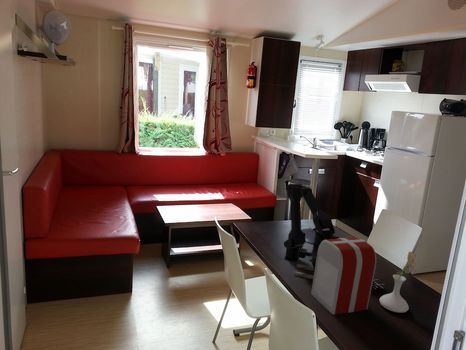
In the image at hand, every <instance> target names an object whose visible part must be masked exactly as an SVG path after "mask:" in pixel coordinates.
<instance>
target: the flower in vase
mask: <svg viewBox="0 0 466 350" xmlns="http://www.w3.org/2000/svg"><path fill="white" fill-rule="evenodd" d="M406 259H407V262H406V264H405V265H404V266H403V268H402V270H401V271H400V270H399V271H397V272H396V273H397V274H393V275H392V277H393V280H394V285H393V286H394V287H393V291H392V292H390V293H386V294H383V295H382V296H380V298H379V303H380V305H381V306H382V307H384V308H385V309H387V310H389V311H391V312H394V313H399V314H401V313H402V314H403V313H406V312H407V311H409V309H410V308H409V307H410V306H409V305H408V303H407V301H406V299H404V298H403V296H401V294H400V291H401V287H402V284H403V283H404V282H406V280H407V278H406V277H405V276H403V275H404V273H405V274H408V273H409V272H410V271H414V272H416V271H417V270H418V262H419V261H417V257H416V255H414V252H413V251H409V252H408V253H407V258H406ZM407 265H408V266H409V268H410V269H409V268H408V267H407ZM403 272H404V273H403Z"/></svg>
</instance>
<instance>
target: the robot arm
mask: <svg viewBox="0 0 466 350" xmlns="http://www.w3.org/2000/svg"><path fill="white" fill-rule="evenodd" d="M286 193H287V194H286V195H287V197H288V199H289V201H290V222H291V223H290V225H291V229H290V230H289V233H288V235H287V239H286V240H285V241H284V242H283V247H284V248H285V256H284V260H288V261H291V262H296V263H297V262H298V260H299V259H305V258H306V257H308V258H309V259H308V260H309V262H310V263H311V264H312V267H313V269H314V271H313V273H314V272H315V266H316V259H317V253H318V248H319V245H320V244H321V242H322V241H323V240H330V239H338V238H340V237H339V236H337V235H335V234H336V231H335V228H334V224H333V221H332V218H331V217H330V216H329V214H328V213H327V212H326V211H324V210H323V209H322V207H321V206H320V204H319V202H318V200H317V198H316V197H315V195H314V193H313V189H312V188H311V187H308V186H306V185H302V183H289V184H288V185H287V186H286ZM302 199H304V201H305V203H306V205H307V207H308V210H309V211H310V212H311V214H312V223H313V225H314V227H313V228H312V230H313V231H315V238H314V244H313V245H312V246H313V247H312V250H311V252H309V251H308V248H304V245H305V244H306V242H305V241H306V239H305V235H306V234H305V233H303V231H302V230H301V229H302V215H301V214H302V212H301V211H302V210H301V207H302V206H301V205H302V203H301V200H302Z"/></svg>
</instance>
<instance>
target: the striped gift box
mask: <svg viewBox="0 0 466 350" xmlns="http://www.w3.org/2000/svg"><path fill="white" fill-rule="evenodd" d="M376 266H377V253H376V250H375V248H374V246H372V245H371V244H370V243H368V242H367V241H366V240H364V239H361V238H359V237H347V238H345V237H339V238H338V239H330V240H323V241H322V242H321V244H320V245H319V248H318V253H317V259H316V266H315V272H314V271H313V276H314V279H312V286H311V292H310V294H311V296H313V297H314V298H315V299H316V300H317V301H318V302H319V303H320V304H321V305H322V306H323V307H324V308H325V309H326V310H327V311H328V312H329V313H330V314H331V315H341V314H346V313H347V314H349V313H354V312H359V311H366V310H368V308H369V302H370V298H371V291H372V287H373V281H374V276H375V271H376Z"/></svg>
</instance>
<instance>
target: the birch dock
mask: <svg viewBox="0 0 466 350" xmlns="http://www.w3.org/2000/svg"><path fill="white" fill-rule="evenodd" d="M296 268H297V269H298V268H300V269H302V270H307V271H313V272H314V269H313V266H309V265H304V264H301V263H300V264H299V263H297V264H296ZM293 276H297V277H302V278H305V279H310V280H313V279H314V274H309V273H304V272H301V271H300V272H299V271H294V274H293Z"/></svg>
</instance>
